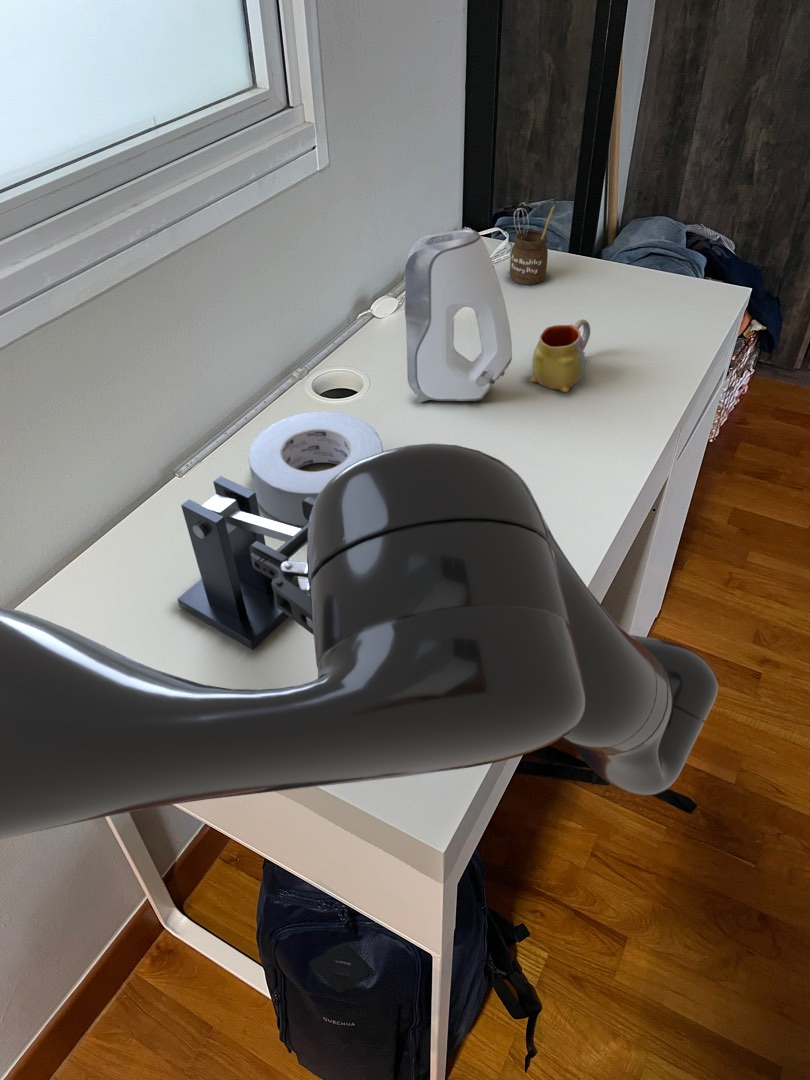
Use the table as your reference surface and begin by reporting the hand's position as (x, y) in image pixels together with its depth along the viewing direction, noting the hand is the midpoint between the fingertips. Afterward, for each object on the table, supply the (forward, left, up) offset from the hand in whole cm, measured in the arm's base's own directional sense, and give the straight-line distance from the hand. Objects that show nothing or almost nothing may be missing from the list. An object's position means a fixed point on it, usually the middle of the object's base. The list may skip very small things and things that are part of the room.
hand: (280, 528), depth 70 cm
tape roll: (+14, +19, -14) cm, 27 cm away
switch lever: (-1, +3, -2) cm, 3 cm away
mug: (+54, +20, -14) cm, 59 cm away
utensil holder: (+69, +45, -14) cm, 83 cm away
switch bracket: (-2, +7, -14) cm, 16 cm away
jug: (+38, +25, -14) cm, 47 cm away
